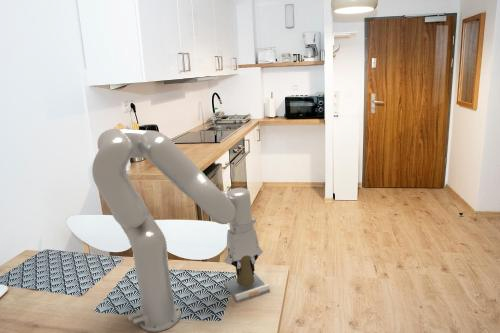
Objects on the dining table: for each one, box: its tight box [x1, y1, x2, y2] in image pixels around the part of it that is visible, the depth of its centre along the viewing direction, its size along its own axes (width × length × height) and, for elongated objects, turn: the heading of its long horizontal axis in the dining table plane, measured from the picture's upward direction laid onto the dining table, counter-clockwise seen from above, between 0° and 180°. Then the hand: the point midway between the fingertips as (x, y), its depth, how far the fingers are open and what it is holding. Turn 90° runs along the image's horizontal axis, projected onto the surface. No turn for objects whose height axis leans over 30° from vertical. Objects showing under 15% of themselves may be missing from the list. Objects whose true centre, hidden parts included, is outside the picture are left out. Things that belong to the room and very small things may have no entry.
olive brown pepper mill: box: [236, 255, 254, 286], centre depth 133 cm, size 6×6×11 cm
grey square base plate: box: [223, 272, 271, 304], centre depth 136 cm, size 12×12×2 cm
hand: (245, 274), depth 134 cm, fingers closed on olive brown pepper mill, 3 cm apart
